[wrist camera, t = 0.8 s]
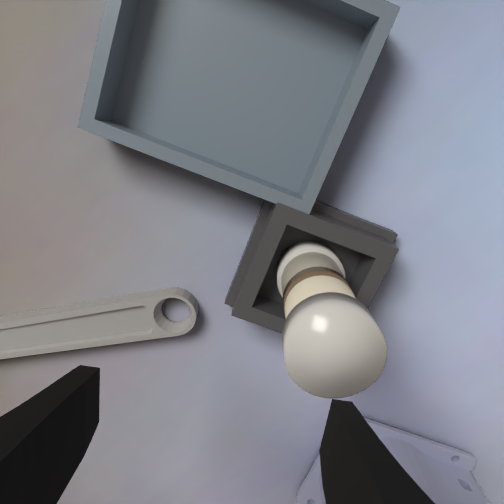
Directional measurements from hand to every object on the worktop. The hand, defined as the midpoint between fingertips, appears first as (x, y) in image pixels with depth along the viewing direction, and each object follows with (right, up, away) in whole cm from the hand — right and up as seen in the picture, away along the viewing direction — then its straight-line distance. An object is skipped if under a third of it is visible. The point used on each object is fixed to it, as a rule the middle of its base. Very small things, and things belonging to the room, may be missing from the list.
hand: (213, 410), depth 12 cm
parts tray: (0, +13, +6) cm, 15 cm away
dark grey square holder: (+4, +4, +9) cm, 11 cm away
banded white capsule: (+4, +4, +9) cm, 10 cm away
